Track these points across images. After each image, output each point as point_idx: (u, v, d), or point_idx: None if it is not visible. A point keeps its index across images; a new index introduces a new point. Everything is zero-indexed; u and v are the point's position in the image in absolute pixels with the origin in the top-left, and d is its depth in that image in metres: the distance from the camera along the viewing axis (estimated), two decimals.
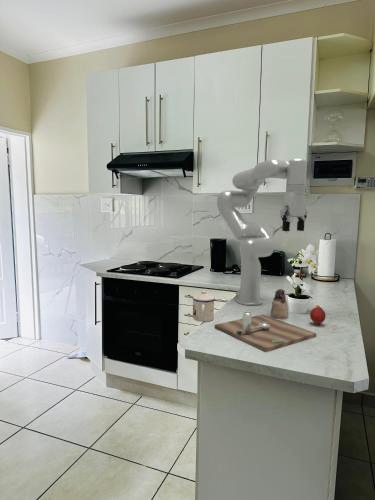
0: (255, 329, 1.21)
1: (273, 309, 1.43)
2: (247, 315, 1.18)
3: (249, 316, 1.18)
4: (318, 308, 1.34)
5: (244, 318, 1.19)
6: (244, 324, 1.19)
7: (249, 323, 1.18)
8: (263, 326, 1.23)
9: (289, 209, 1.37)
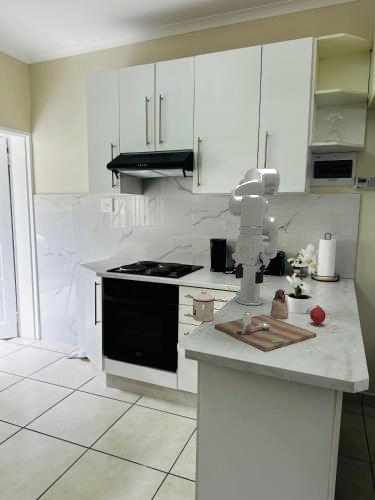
0: (255, 329, 1.21)
1: (273, 309, 1.43)
2: (247, 315, 1.18)
3: (249, 316, 1.18)
4: (318, 308, 1.34)
5: (244, 318, 1.19)
6: (244, 324, 1.19)
7: (249, 323, 1.18)
8: (263, 326, 1.23)
9: None
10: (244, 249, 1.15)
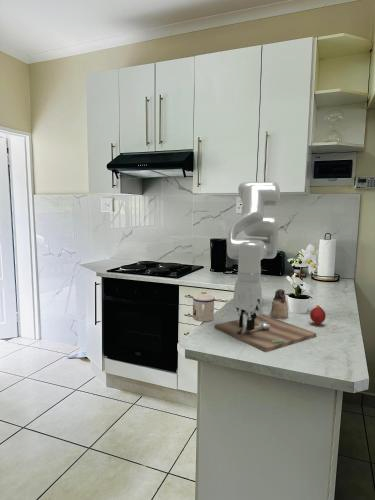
0: (255, 329, 1.21)
1: (273, 309, 1.43)
2: (247, 315, 1.18)
3: None
4: (318, 308, 1.34)
5: (244, 318, 1.19)
6: (244, 324, 1.19)
7: None
8: (263, 326, 1.23)
9: (260, 303, 1.15)
10: (242, 295, 1.17)
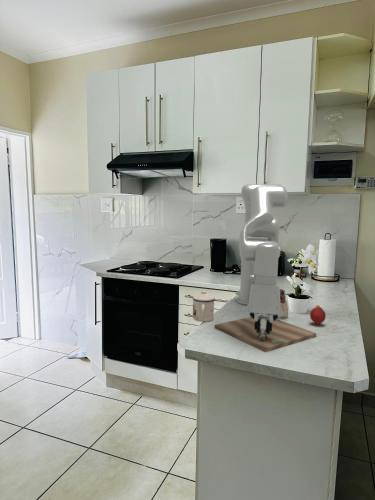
0: None
1: None
2: (266, 318, 1.15)
3: (267, 319, 1.15)
4: (318, 308, 1.34)
5: (263, 322, 1.15)
6: (263, 328, 1.15)
7: (267, 326, 1.16)
8: None
9: None
10: (264, 299, 1.12)
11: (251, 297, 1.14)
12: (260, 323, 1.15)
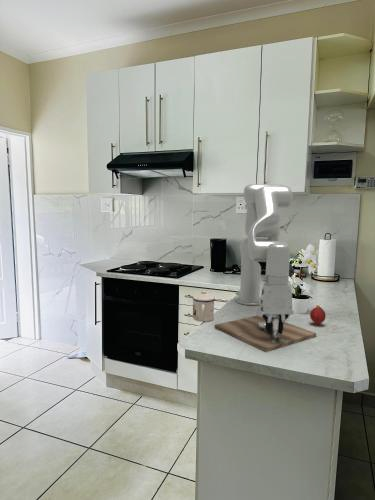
0: None
1: None
2: None
3: None
4: (318, 308, 1.34)
5: (276, 323, 1.14)
6: (276, 329, 1.15)
7: None
8: None
9: None
10: (279, 299, 1.12)
11: (266, 299, 1.12)
12: (273, 324, 1.15)
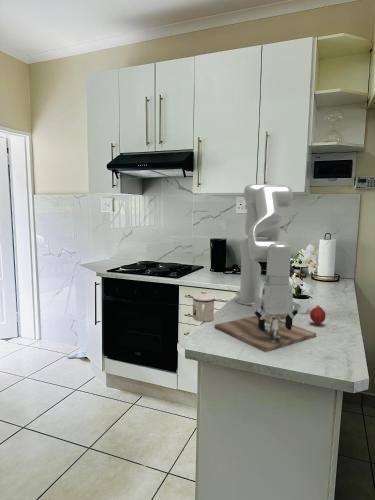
0: None
1: None
2: None
3: None
4: (318, 308, 1.34)
5: (277, 323, 1.14)
6: (276, 329, 1.15)
7: None
8: (268, 326, 1.24)
9: None
10: (280, 299, 1.12)
11: (267, 299, 1.12)
12: (273, 324, 1.15)
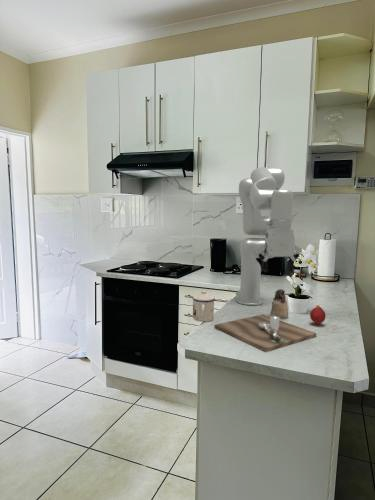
0: None
1: (273, 309, 1.43)
2: None
3: None
4: (318, 308, 1.34)
5: (277, 323, 1.14)
6: (276, 329, 1.15)
7: None
8: (268, 326, 1.24)
9: None
10: (282, 242, 1.20)
11: (270, 241, 1.19)
12: (273, 324, 1.15)
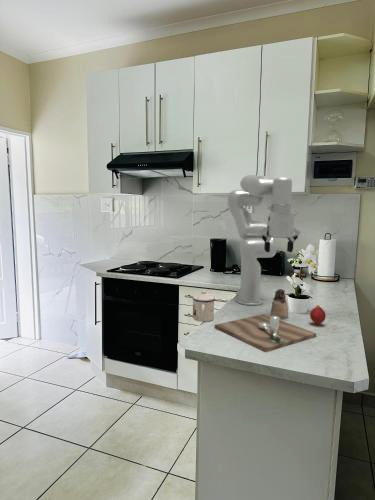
0: None
1: (273, 309, 1.43)
2: None
3: None
4: (318, 308, 1.34)
5: (277, 323, 1.14)
6: (276, 329, 1.15)
7: None
8: (268, 326, 1.24)
9: None
10: (283, 224, 1.33)
11: (272, 224, 1.33)
12: (273, 324, 1.15)
